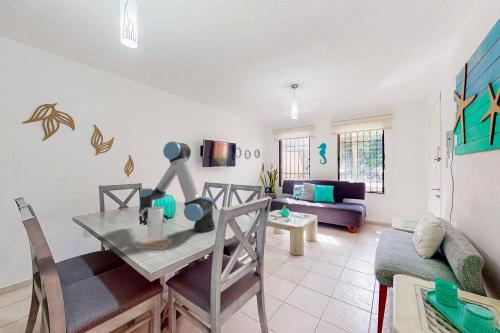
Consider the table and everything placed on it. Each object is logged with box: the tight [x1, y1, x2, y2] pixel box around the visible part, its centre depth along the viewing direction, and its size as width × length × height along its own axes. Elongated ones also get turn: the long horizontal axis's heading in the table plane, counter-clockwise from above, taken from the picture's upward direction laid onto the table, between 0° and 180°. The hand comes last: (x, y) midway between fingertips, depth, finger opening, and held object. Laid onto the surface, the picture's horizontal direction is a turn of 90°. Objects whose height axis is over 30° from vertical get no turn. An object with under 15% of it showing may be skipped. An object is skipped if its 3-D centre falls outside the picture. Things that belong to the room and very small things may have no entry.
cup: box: [146, 206, 164, 239], centre depth 115 cm, size 8×8×16 cm
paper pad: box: [135, 238, 175, 250], centre depth 115 cm, size 16×13×1 cm
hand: (157, 223), depth 111 cm, fingers closed on cup, 8 cm apart
